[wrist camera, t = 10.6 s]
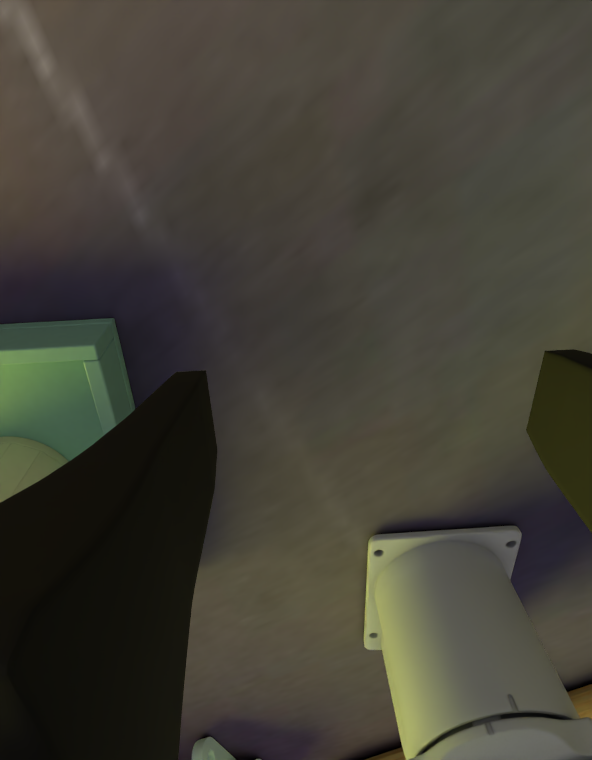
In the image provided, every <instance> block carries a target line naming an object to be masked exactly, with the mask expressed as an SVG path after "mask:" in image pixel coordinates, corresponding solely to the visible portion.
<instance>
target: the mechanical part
mask: <svg viewBox="0 0 592 760" xmlns="http://www.w3.org/2000/svg"><path fill="white" fill-rule="evenodd" d="M192 760H236V759H235V758H234V757H233V756H232V755H231V754H230V753H229V752H228V751H226V750H225V749H224V748H223V747H222V746H221V745H220V744H219V743H218V742H217V741H216V740H214V739H213V738H212V737H207V738H204V739H200V740H198V741H196V743H195V744H194V747H193V751H192ZM255 760H262V759H255Z"/></svg>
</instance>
